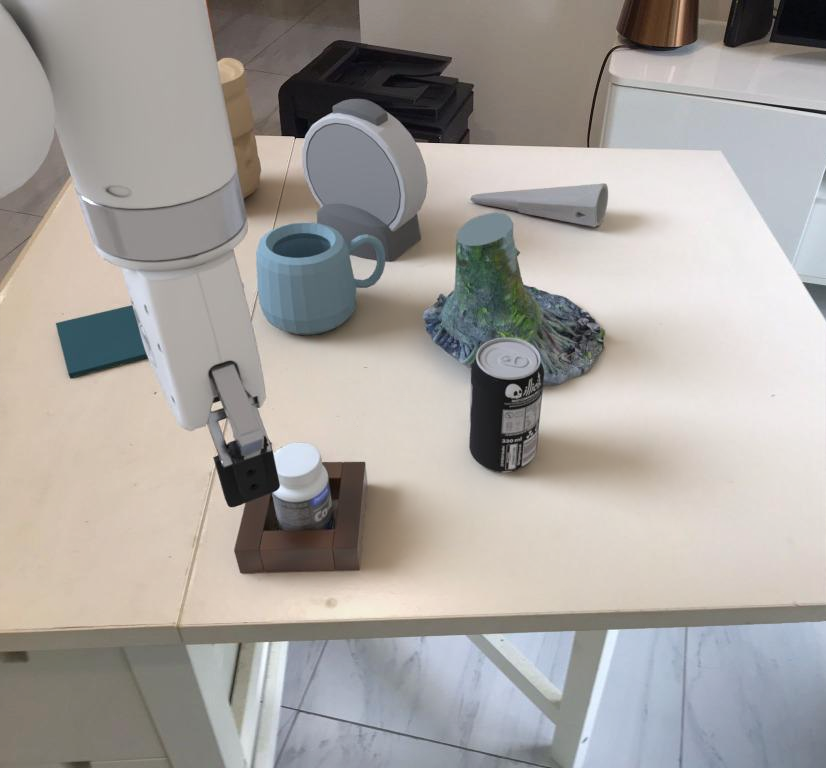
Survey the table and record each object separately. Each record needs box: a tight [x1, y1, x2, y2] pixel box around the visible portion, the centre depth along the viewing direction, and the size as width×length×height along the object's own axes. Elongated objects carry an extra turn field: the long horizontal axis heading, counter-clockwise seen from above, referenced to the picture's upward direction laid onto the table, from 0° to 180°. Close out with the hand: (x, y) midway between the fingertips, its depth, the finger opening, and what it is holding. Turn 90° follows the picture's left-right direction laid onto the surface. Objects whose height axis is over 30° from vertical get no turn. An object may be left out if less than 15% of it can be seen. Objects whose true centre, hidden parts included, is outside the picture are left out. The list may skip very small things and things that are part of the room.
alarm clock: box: [301, 98, 429, 262], centre depth 103 cm, size 16×10×18 cm, turn 62°
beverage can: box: [468, 338, 544, 473], centre depth 75 cm, size 7×7×12 cm
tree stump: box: [422, 212, 606, 387], centre depth 88 cm, size 18×20×18 cm
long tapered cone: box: [470, 183, 609, 228], centre depth 116 cm, size 6×6×19 cm
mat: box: [55, 304, 148, 379], centre depth 89 cm, size 10×10×1 cm
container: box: [217, 57, 262, 200], centre depth 109 cm, size 13×13×18 cm
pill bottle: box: [272, 442, 335, 531], centre depth 68 cm, size 5×5×8 cm
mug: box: [255, 222, 386, 336], centre depth 92 cm, size 15×11×10 cm
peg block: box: [233, 461, 368, 574], centre depth 70 cm, size 10×10×3 cm
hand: (228, 446), depth 52 cm, fingers open, 9 cm apart
